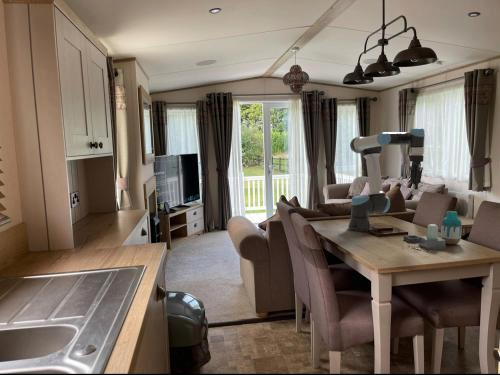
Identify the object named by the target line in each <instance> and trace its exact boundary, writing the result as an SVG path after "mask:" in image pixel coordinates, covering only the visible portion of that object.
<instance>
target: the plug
mask: <svg viewBox="0 0 500 375" xmlns="http://www.w3.org/2000/svg"><path fill="white" fill-rule="evenodd" d="M426 230H427V232H426V233H427V234H426V236H427V238H428V239H430V240H437V239H438V237H439V234H438V233H439V226H438V225H437V224H435V223H433V224H432V223H431V224H430V223H429V224H428V225H427V229H426Z"/></svg>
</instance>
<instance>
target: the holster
mask: <svg viewBox="0 0 500 375" xmlns="http://www.w3.org/2000/svg"><path fill="white" fill-rule="evenodd" d="M419 238H420V236H418V235H416V234H415V235H407V234H405V235H403V240H404V241H405V242H408V243H410V244H411V243H418V244H419Z"/></svg>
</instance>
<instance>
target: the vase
mask: <svg viewBox="0 0 500 375" xmlns="http://www.w3.org/2000/svg"><path fill="white" fill-rule="evenodd" d="M462 228H463V226H462V220H461V219H460V218H459V217H458V211H455V210H454V211H453V210H448V211H446V216H445V217H444V218H442V220H441V225H440V238H442V239H444V240H446V243H445V245H446V244H447V245H457V244H459V243H460V242H461V238H462V230H463V229H462Z"/></svg>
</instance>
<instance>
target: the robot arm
mask: <svg viewBox="0 0 500 375" xmlns="http://www.w3.org/2000/svg"><path fill="white" fill-rule="evenodd" d="M425 137H426V136H425V129H424V128H421V127H419V128H418V127H417V128H411V129H410V131H402V132H399V131H398V132H396V131H394V132H393V131H392V132H390V131H388V132H387V131H385V132H379V133H378V134H374V135H369V136H357V137H354V138H353V139H351V141H350V143H349V148H350V149H351V151H352V152H353V153H356V154H360V155H361V154H362V155H363V158H364V159H365V163H366V171H367V179H368V189H369V193H367V194H359V195H355V196H353V197H352V198H351V203H350V206H351V210H350V211H351V212H350V220H349V223H348V225H347V226H348V227H347V228H348V230H349V231H351V232H360V233H362V232H364V233H365V232H368V231H367V230H369V229H371V230H372V225H371V222H370V216H369V215H373V214H384V213H385V214H386V213H387V212H388V211H389V209H390V208H391V207H390V206H391V200H390V197H389V196H387V195H386V192H385V191H383V183H382V174H381V173H382V172H381V166H380V165H381V164H380V159H379V158H380V156H381V153H382V152H383V150H384V146H395V145H396V146H398V145H399V146H405V145H407V146H408V145H409V150H408V151H409V154H410V155H409V162H411V165H410V166H409V168H408V169H409V175H410V182H411V184H412V192H411V195H412V196H415V195H416V196H418V195H419V184H421V181H422V175H423V170H424V167H422V162H424V154H425V147H424V146H425Z"/></svg>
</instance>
